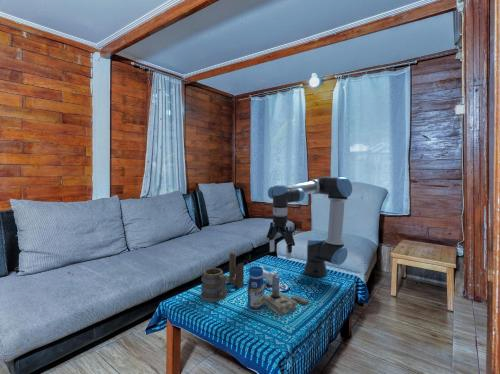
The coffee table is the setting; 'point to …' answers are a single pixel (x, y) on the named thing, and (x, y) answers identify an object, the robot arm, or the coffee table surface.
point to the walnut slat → (300, 300)
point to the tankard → (213, 285)
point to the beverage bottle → (255, 289)
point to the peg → (275, 287)
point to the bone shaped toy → (268, 275)
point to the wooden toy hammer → (235, 272)
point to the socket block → (280, 303)
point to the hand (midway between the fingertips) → (280, 254)
